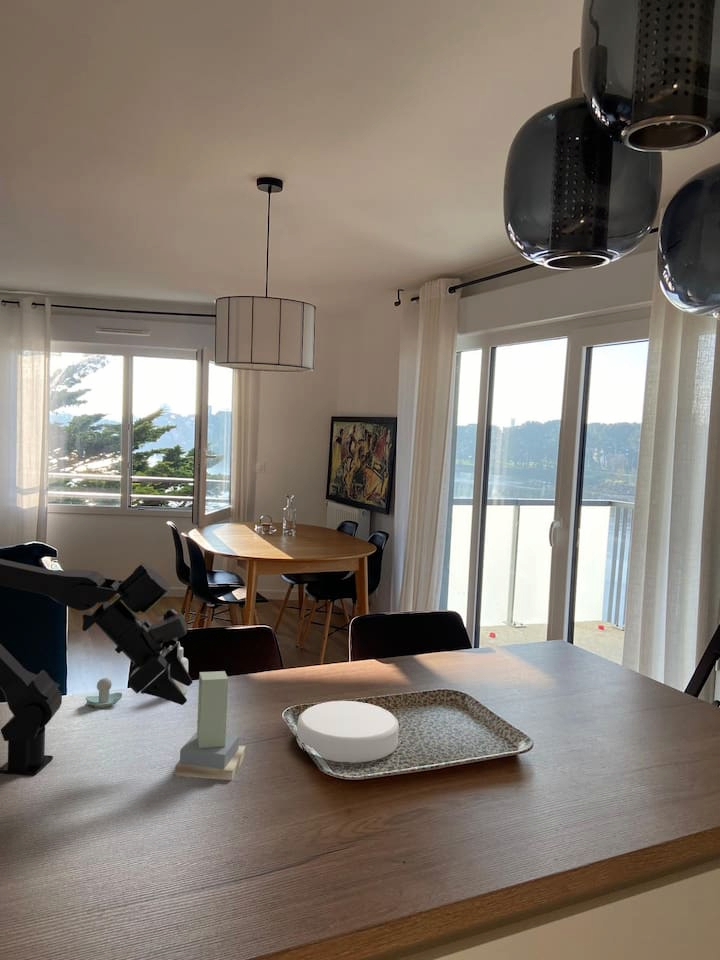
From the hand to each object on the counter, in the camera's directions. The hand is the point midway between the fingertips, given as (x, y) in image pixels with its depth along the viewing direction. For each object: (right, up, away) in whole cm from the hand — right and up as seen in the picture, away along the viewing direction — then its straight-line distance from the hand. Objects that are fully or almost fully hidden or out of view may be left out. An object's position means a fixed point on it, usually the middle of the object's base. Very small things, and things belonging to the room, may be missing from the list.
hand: (187, 693), depth 127 cm
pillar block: (+4, -9, +1) cm, 10 cm away
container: (+28, -14, +15) cm, 35 cm away
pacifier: (-25, -11, +27) cm, 38 cm away
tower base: (+4, -14, +1) cm, 15 cm away
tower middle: (+4, -12, +1) cm, 12 cm away
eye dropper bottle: (-11, -11, +34) cm, 37 cm away
